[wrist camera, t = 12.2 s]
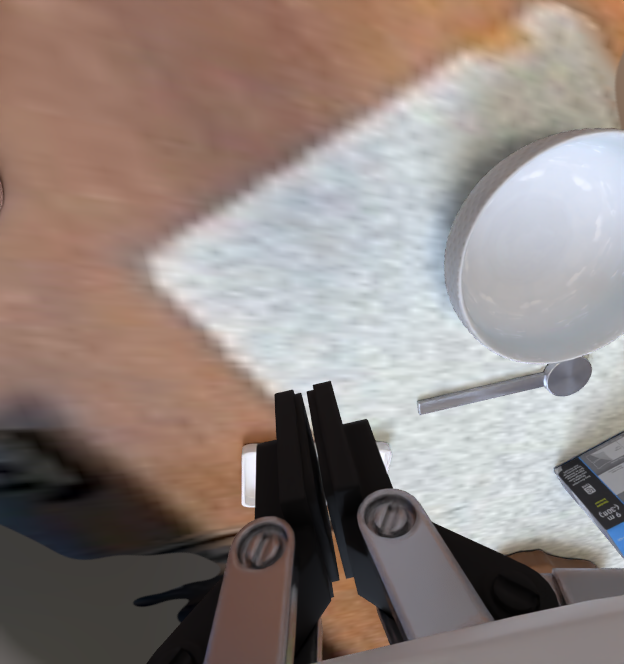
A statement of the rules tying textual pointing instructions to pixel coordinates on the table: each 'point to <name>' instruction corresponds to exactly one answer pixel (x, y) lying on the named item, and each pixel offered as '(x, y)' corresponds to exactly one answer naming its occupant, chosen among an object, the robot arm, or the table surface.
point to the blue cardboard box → (599, 487)
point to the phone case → (250, 469)
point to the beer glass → (1, 195)
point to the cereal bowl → (543, 249)
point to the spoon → (519, 386)
